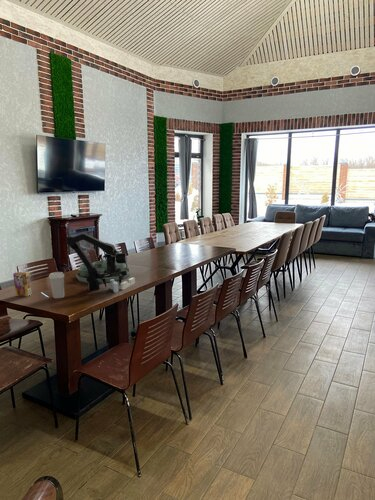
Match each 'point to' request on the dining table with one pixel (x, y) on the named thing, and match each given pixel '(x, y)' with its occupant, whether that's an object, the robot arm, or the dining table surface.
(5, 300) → the dining table surface
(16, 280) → the candy box
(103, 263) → the tea set
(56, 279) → the coffee cup
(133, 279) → the slotted rib
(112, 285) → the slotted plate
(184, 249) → the dining table surface
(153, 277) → the dining table surface
